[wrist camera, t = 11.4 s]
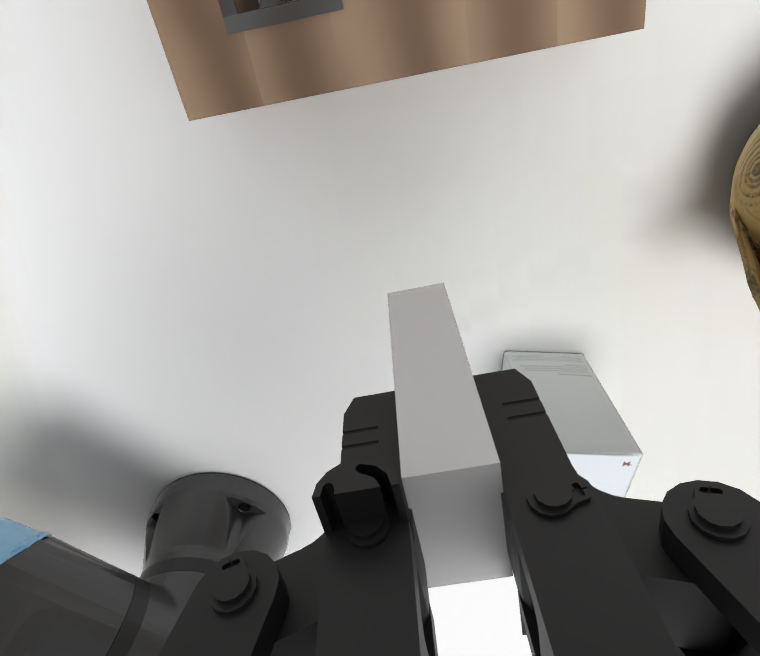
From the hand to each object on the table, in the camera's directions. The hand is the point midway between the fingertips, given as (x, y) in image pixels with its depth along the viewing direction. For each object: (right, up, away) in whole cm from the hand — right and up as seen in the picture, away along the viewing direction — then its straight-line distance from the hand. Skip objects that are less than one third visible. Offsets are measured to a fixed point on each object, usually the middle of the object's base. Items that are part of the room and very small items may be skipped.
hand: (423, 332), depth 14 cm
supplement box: (+13, -5, +33) cm, 36 cm away
